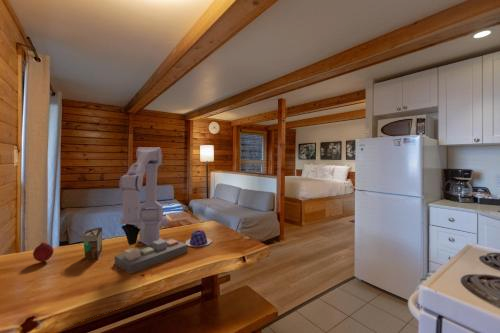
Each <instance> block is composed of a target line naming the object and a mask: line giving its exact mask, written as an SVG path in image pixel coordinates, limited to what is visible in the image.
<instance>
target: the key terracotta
mask: <svg viewBox="0 0 500 333" xmlns="http://www.w3.org/2000/svg"><path fill="white" fill-rule="evenodd" d="M171 239H172V240H169V241H167V246H169V247H171V246H174V245H177V244H178V241H179V240H176V239H174V240H173V238H171Z"/></svg>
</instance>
